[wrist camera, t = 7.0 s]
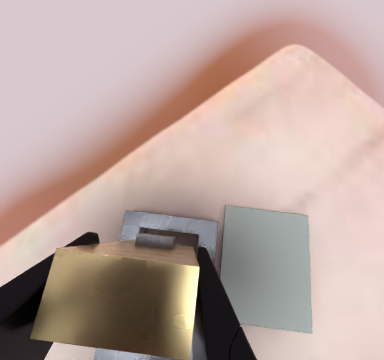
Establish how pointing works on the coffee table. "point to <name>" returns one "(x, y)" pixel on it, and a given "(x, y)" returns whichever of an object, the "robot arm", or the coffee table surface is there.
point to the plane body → (142, 220)
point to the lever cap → (122, 297)
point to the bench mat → (267, 268)
